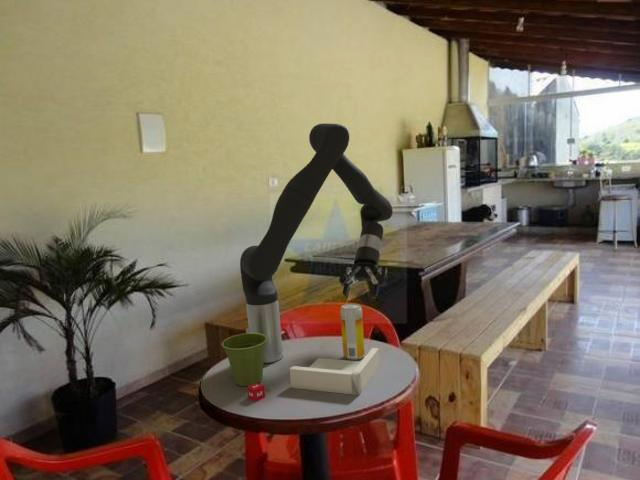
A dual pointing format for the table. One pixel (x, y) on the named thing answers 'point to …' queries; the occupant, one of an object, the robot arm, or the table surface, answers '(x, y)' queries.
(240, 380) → the plant pot
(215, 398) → the table surface
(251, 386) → the dice
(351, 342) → the beer can
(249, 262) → the robot arm
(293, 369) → the white corner tray
